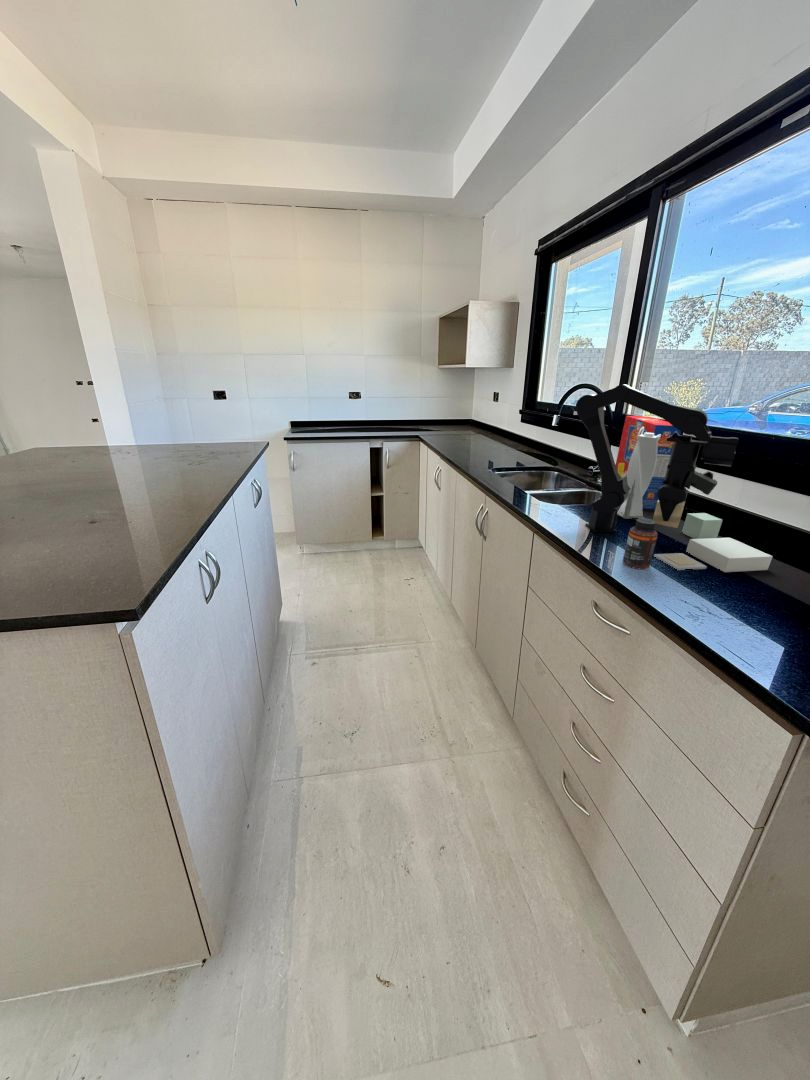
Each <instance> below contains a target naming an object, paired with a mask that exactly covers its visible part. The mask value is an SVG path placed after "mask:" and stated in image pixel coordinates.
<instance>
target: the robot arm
mask: <svg viewBox="0 0 810 1080" xmlns="http://www.w3.org/2000/svg"><path fill="white" fill-rule="evenodd" d="M618 402H623V403H625V404H628V405H629V406H630V405H631V406H632V407H635V408H637V409H640V410H642V411H644V412H647V413H650V414H652V415H654V416H656V417H658V418H661V419H663V421H666V422H669V423H670V424H671V425H672V426H674V427H675V428H677V429H678V430H680V431H681V433H683V434H685V435H683V434H682V435H681V434H680V435H679V434H678V432H677V431H676V432H675V433H674V434H673V435H672V436H670V437H668V438H667V439H666V440H667V441H670V442H674V446H673V450H672V453H671V457H670V461H669V464H668V466H667V468H668V469H667V472H666V476H665V479H664V481H663V484H664V485H663V486H661V487H660V488H659V489H658V493H657V497H658V499H659V503H660V508H661V512H662V517H663V521H668V520H669V518H670V516H671V515H672V513H673V511H674V509H675V507H676V505H677V504H679V503H681V502H684V501H685V502H686V499H687V496H688V493H689V490H690V488H691V487H692V488H694V489H696V490H698V491H700V492H702V494H704V495H707V496H709V495H710V494H711V492H712V491H713V490H714V489H715V487H716V486H717V485H718V481H717V480H716V479H714V473H713V472H711V471H709V470H708V471H706V472H703V473H702V472H698V471H697V470H696V469H697V465H696V462H697V459H698V455H699V452H700V449H701V446H703V448H702V451H701V453H700V458H699V459H701V460H702V461H704V462H703V463H704V464H706V465H707V464H708V465H715V466H716V465H717V466H724V467H730V468H731V467H732V465H733V462H734V460H735V456H736V449H737V446H738V443H739V438H738V437H734V436H733V437H732V436H731V437H725V436H723V437H722V436H713V435H712V431H711V430H710V428H709V427H708V425H707V424H708V419H709V417H708V414H707V412H705V411H704V410H703V409H698V408H693V407H691V406H690V407H689V406H684V405H678V404H674V403H671V402H668V401H666V400H664V399H661V398H659V397H656V396H653V395H652V394H648V393H646V392H643V391H640V389H639V390H638V389H636V388H634V387H632V386H630V385H629V384H623V383H622V384H618V385H617V386H615V387H614V388H611V389H608V390H605V391H602V392H600V393H597V394H595V393H591V394H585V395H582V396H580V397H579V398H578V400H577V401H576V403H575V411H576V413H577V415H578V417H579V420H580V421H581V422H582V423H583V425H584V427H585V428H586V430H587V432H588V435H589V439H590V442H591V446H592V448H593V452H594V456H595V459H596V463H597V466H598V470H599V472H600V473H599V474H600V476H601V483H600V485H601V488H600V491H601V495H600V496H599V497H597V499H595V501H593V502H592V503H591V504H592V507H591V511H590V515H589V517H590V518H589V520H588V523H587V522H586V523H585V526H586V527H587V528H589V529H590V530H592V531H593V532H596V533H617V531H618V530H617V529H616V526H617V525H616V524H617V519H618V516H619V515H618V514H617V511H619V509H617V508H620V507H621V505H622V504H623V503H624V501H625V500H626V499H627V497H628V495H629V490H630V487H629V486H628V483H627V476H625V477H623V478H621V476H620V475H619V474H618V472H617V469H616V462H615V458H614V455H613V452H612V449H611V448H612V447H611V445H610V442H609V436H608V435H607V431H606V428H605V407H607V406H610V405H612V404H615V403H618ZM692 435H693V436H694V437H696V438H697V439H698V440H695V439H692V438H693V436H692Z"/></svg>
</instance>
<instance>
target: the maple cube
mask: <svg viewBox="0 0 810 1080" xmlns="http://www.w3.org/2000/svg"><path fill="white" fill-rule="evenodd" d="M685 504H686V500H685V501H684V502H681V503H679V504H677V505H676V507H675V509H674V511H673V513H672V515H671V516H670V518H669V520H668V521H663V517H662V512H661V508H660V503H659V500H658V501H657V505H656V509H655V510H654V513H653V517H652V520H653V521H655V522H656V524H655V525H660V526H665V527H670V528H675V529H678V528H679V524H680V522H681V518H682V514H683V512H684V507H685Z"/></svg>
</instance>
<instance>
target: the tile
mask: <svg viewBox="0 0 810 1080" xmlns="http://www.w3.org/2000/svg"><path fill="white" fill-rule="evenodd" d="M655 557H656V558H655ZM653 558H655V559H657V560H659V561H660V560H661V561H660V562H662V561H663V562H662V563H664V564H665V563H666V565H667V564H668V566H669V565H670V566H671V568H672V567H673V568H672V569H674V568H675V569H677V570H676V571H686V570H685V569H693V570H706V569H707V568H708V565H705V564H704V563H702V562H699V561H697V560H696V559H694V558H692V557H690V556H688V555H687V554H684V553H682V552H681V553H680V552H679V553H678V552H674V553H655V554H654V553H653ZM670 566H669V567H670ZM675 569H674V570H675Z"/></svg>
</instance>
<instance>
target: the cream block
mask: <svg viewBox="0 0 810 1080" xmlns="http://www.w3.org/2000/svg"><path fill="white" fill-rule="evenodd" d="M687 552H688V553H687ZM685 553H687V554H689V553H690V554H689V555H692V557H695V558H696V559H699V560H701V561H702V562H704V563H707V564H708V565H710V566H712V567H714V568H716V569H717V570H719V569H720V570H719V571H722V572H723V573H732V572H733V573H734V572H735V573H736V572H752V571H753V572H754V571H768V570H769V567H770V566H771V565H770V564H771V561H772V559H773V558H774V557H773V555H771V554H769V553H765V552H764V551H761V550H759V549H757V548H754V547H752V546H750V545H748V544H745V543H744V542H741V541H739V540H737V539H734V538H731V537H717V538H706V539H694V538H690V539H689V541H688V544H687V547H686V551H685Z"/></svg>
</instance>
